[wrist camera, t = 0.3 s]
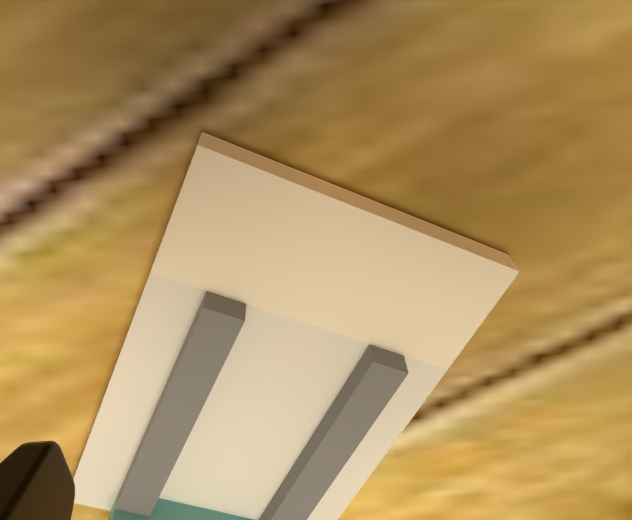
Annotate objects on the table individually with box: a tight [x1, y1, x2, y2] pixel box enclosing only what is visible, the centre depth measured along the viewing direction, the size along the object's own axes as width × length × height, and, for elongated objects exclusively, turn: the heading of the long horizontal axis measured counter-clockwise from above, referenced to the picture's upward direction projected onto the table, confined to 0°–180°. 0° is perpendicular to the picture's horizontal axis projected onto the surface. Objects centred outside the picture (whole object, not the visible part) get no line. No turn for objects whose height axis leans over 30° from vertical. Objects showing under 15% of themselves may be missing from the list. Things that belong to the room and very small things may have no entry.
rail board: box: [73, 132, 520, 520], centre depth 23 cm, size 12×18×4 cm, turn 155°
